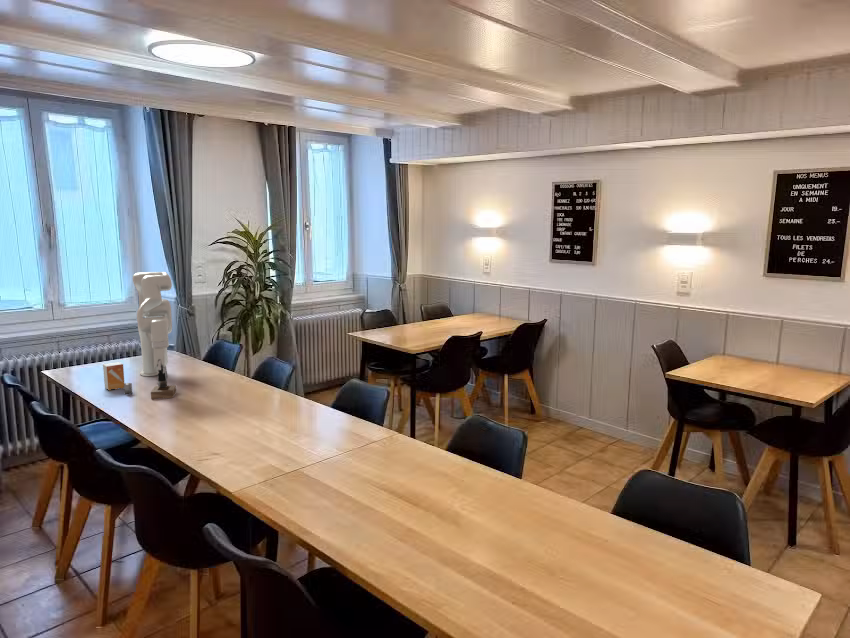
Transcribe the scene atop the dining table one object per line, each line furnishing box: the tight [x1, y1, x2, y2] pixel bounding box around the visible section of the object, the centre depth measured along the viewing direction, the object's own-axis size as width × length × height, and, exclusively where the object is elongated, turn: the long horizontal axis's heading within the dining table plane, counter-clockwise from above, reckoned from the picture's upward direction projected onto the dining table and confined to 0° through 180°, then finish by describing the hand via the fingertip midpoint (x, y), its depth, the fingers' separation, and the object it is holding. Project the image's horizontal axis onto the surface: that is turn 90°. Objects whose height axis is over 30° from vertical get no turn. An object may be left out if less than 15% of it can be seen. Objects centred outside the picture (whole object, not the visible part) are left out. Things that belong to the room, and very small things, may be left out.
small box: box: [102, 361, 126, 391], centre depth 301 cm, size 8×6×13 cm
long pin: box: [159, 365, 168, 388], centre depth 289 cm, size 4×4×12 cm
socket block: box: [150, 384, 177, 400], centre depth 291 cm, size 10×10×4 cm
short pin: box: [123, 382, 133, 395], centre depth 293 cm, size 4×4×5 cm
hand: (162, 379), depth 290 cm, fingers closed on long pin, 3 cm apart
